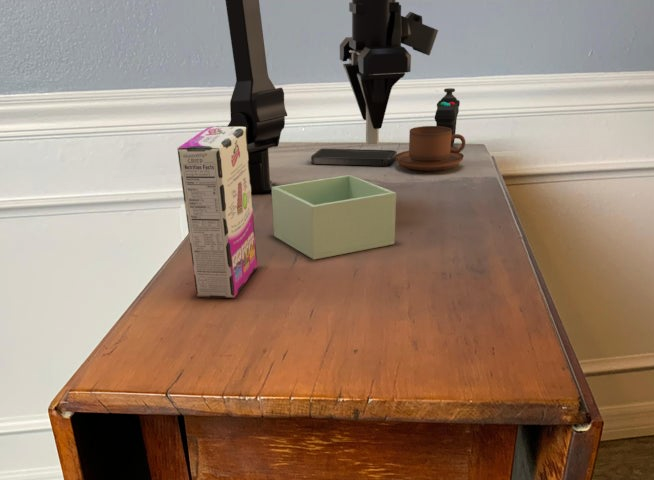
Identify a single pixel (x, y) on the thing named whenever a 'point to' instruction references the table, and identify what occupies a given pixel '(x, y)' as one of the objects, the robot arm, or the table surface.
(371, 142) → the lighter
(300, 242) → the open square storage bin
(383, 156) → the phone
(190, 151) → the candy bar box
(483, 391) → the table surface
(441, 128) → the cup and saucer
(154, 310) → the table surface
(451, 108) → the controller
